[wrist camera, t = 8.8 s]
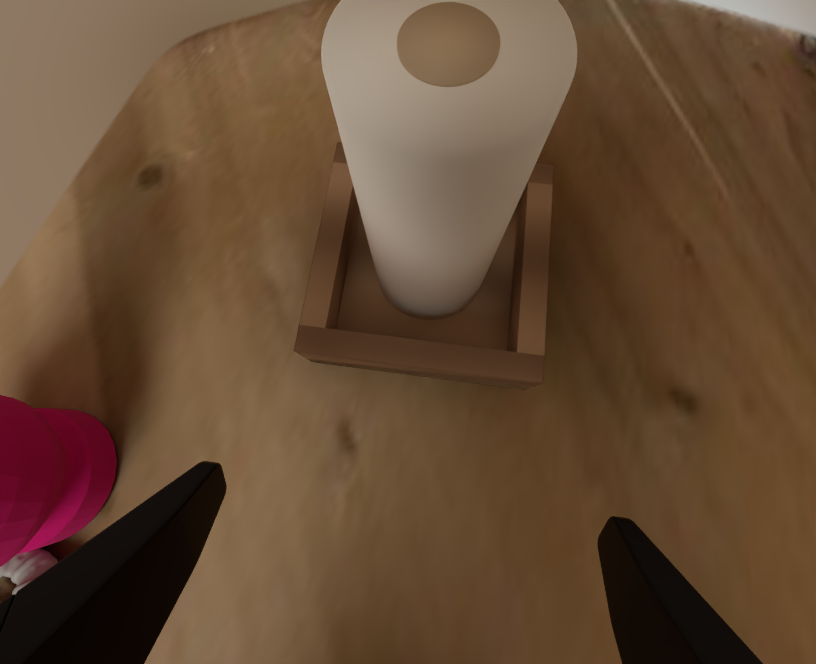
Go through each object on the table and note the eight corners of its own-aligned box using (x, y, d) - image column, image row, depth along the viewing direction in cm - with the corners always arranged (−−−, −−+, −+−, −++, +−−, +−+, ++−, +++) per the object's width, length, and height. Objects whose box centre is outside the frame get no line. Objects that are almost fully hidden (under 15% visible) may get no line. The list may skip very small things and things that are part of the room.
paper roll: (447, 340, 19) (497, 198, 7) (357, 285, 20) (268, 75, 8) (501, 254, 20) (623, 7, 8) (413, 205, 21) (409, -84, 9)
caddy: (523, 389, 19) (543, 382, 16) (311, 361, 20) (293, 350, 17) (535, 199, 22) (553, 163, 19) (347, 179, 22) (337, 142, 19)
